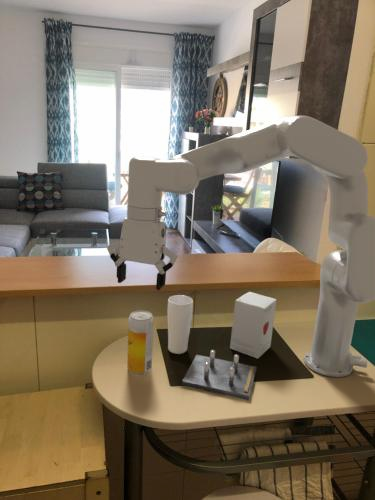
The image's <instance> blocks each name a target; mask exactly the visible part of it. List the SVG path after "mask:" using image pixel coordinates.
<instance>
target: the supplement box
mask: <svg viewBox="0 0 375 500" xmlns="http://www.w3.org/2000/svg"><path fill="white" fill-rule="evenodd" d="M276 306H277V298H273V297H270V296H267V295H266V296H265V295H262V294H259V293H257V292H256V293H255V292H253V291H248V292H247V293H244V294H243V295H241V296H240V297H238V298H237V299H235V300H234V307H233V308H234V309H233V318H232V325H231V327H232V328H231V337H230V344H229V345H230V346H229V349H231V350H234V351H235V352H236V351H237V352H239V353H241V354H244V355H247V356H249V357H252V358H255V359H257V360H258V359H259V358H260V357H262V356H263V355H264V354H265V353H266V352H267V351H268V349H270V348H271V345H272V338H273V337H272V336H273V330H274V329H273V328H274V323H275V315H276V314H275V313H276Z"/></svg>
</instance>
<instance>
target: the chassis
mask: <svg viewBox="0 0 375 500" xmlns="http://www.w3.org/2000/svg"><path fill="white" fill-rule="evenodd" d="M239 359H240V355H239V354H234V355H233V361H229V360H226V359H220V358H216V350H215V349H211V350H210V353H209V356H205V355H199V354H196V355H195V356H194V358H193V360H192V363H191V364H190V366H189V368H188V370H187V372H186V373H185V374H184V375H185V376H184V377H183V378H182V382H181V383H182V384H181V386H183V387H188V388H191V389H197V390H199V391H200V390H201V391H206V392H211V393H215V394H220V395H223V396H227V397H233V398H236V399H241V400H246V401H250V396H251V393H252V389H253V385H254V381H255V376H256V373H257V366H254V365H249V364H245V363H240V362H239Z"/></svg>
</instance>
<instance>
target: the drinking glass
mask: <svg viewBox="0 0 375 500" xmlns="http://www.w3.org/2000/svg"><path fill="white" fill-rule="evenodd" d="M193 308H194V301H193V298H192V297H191V296H187V295H184V294H177V295H175V294H174V295H171V296H169V298H168V300H167V309H166V310H167V311H166V316H167V319H166V320H167V339H168V340H167V343H168V345H167V349H168V351H169V352H170V353H171V354H175V355H176V354H177V355H181V354H184V353H186V352H187V351H188V346H189V345H188V343H189V339H190V338H189V336H190V332H191V325H192V319H193V311H194V309H193Z"/></svg>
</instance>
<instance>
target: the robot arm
mask: <svg viewBox="0 0 375 500" xmlns="http://www.w3.org/2000/svg"><path fill="white" fill-rule="evenodd" d="M291 156H292V157H296V158H298V159H300V160H303V162H306V163H308V164H310V166H311V167H312V168H313V169H314V170H315V171H316V172H317V173H320V174H321V175H323V177H324V178H325V180H326V182H327V184H328V189H329V213H328V214H329V215H328V229H327V230H328V232H327V233H328V238H329V240H330V241H331V242H332V244H334V245H336V246H337V247H339V248H341V249H337V250H333V251H331V252H329V253H328V254H327V255H326V256H325V257H324V258H323V261H322V263H321V266H320V271H319V272H320V273H319V274H320V275H319V280H320V282H319V283H320V285H319V287H320V289H319V298H318V306H317V312H316V318H315V323H314V329H313V330H314V331H313V335H312V336H313V337H312V341H311V342H312V343H311V348H310V350H308V351H306V352H305V353H304V354H303V362H304V364H305V365H306V366H307V367H308V368H309V369H311V370H312V371H314V372H316V373H318V374H320V375H323V376H326V377H334V378H341V377H346V376H349V375H350V374H351V373H352V372H353V370H354V366H355V367H356V366H357V367H360V368H365V369H366V368H367V367H368V360H366V359H362V356H361V355H358V354H352V353H351V350H350V349H351V345H352V339H353V335H354V328H355V324H356V317H357V313H358V310H359V309H358V306H359V304H367V303H371V302H373V301H375V217H374V216H371V215H369V213H368V207H369V206H368V205H369V204H368V203H369V201H368V199H369V185H368V179H367V177H366V173H365V171H364V170H365V169H366V166H367V164H368V159H369V157H368V156H369V155H368V151H367V149H366V147H365V145H364V144H363V143H362V142H361V141H360V140H358V139H356V138H355V137H353V136H351V135H348V134H346V133H345V132H343V131H340V130H339V129H337V128H334V127H332V126H331V125H329V124H326V123H324V122H323V121H321V120H318V119H316V118H314V117H311V116H309V115H290V116H283V117H280V118H278V119H275V120H272V121H269V122H267V123H264V124H262V125H259V126H255V127H254V128H251V129H248V130H245V131H241V132H239V133H236V134H234V135H231V136H228V137H224V138H223V139H222V138H221V139H220V140H217V141H214V142H212V143H208V144H205V145H203V146H200V147H196V148H194V149H191V150H189V151H185V152H183V153H181V154H177V155H175V156H172V157H171V158H168V159H167V160H162V159H159V158H156V157H150V156H135V157H134V156H133V157H132V158H131V159H130V160H129V162H128V164H129V165H128V177H127V178H128V182H127V207H126V216H125V217H124V219H123V223H122V226H121V227H122V228H121V233H120V239H119V241H116V242H113V243H111V244H108V245H107V246H106V250H107V251H108V253H109V254H108V255H109V258H110V259H111V260H112V261H113V263H114V266H115V267H116V278H117V283H119V284H122V283H123V282H124V281H125V280H126V279H127V264H126V263H125V262H126V261H128V262H133V263H139V264H145V265H150V266H151V265H152V266H153V265H154V267H155V268H156V269H157V271H158V273H157V274H156V285H155V286H156V287H155V290H157V291H160V290H161V289H162V288H163V287H164V286H165V285H166V280H167V276H166V275H167V272H168V271H169V270H170V269H171V268H173V267H174V266H175V264H176V263H177V262H178V261H177V260H178V259H179V255H178V254H177V253H175V252H174V251H172V250H171V249H170V248H169V247H167V241H166V237H167V235H166V225H165V220H164V219H162V218H166V217H167V214H168V213H167V212H168V211H167V210H163V207H162V197H163V193H169V194H174V195H180V196H182V195H188V194H191V193H193V192H194V191H195V190H196V189H197V188H198V186H199V184H200V181H202V180H205V179H207V178H211V177H214V176H220V175H227V174H228V175H229V174H230V175H234V174H237V175H238V174H243V173H247V172H251V171H252V170H255V169H258V168H260V167H262V166H266V165H268V164H270V163H273V162H277V161H280V160H282V159H285V158H288V157H291ZM118 248H119V249H118ZM116 249H118V250H119V251H118V252H119V253H117V251H116ZM166 257H167V258H169V261H168V262H167V264H166V263H165V261H164V260H165V259H166Z"/></svg>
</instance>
